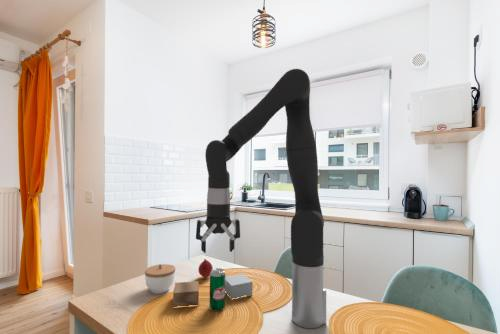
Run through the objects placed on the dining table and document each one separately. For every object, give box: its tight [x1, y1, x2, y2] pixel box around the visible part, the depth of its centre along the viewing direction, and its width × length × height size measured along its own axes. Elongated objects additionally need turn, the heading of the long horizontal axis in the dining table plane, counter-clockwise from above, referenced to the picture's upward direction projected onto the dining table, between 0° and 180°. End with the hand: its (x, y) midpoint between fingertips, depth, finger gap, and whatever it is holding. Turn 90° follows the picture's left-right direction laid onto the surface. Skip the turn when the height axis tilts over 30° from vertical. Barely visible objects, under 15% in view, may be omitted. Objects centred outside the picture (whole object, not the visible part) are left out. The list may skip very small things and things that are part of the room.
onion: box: [198, 258, 214, 279], centre depth 109 cm, size 6×6×8 cm
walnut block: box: [172, 280, 200, 308], centre depth 89 cm, size 8×8×5 cm
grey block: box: [225, 273, 253, 300], centre depth 96 cm, size 8×8×5 cm
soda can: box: [209, 268, 226, 311], centre depth 86 cm, size 5×5×12 cm
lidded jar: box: [144, 263, 176, 295], centre depth 98 cm, size 11×11×9 cm
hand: (217, 251), depth 86 cm, fingers open, 8 cm apart
